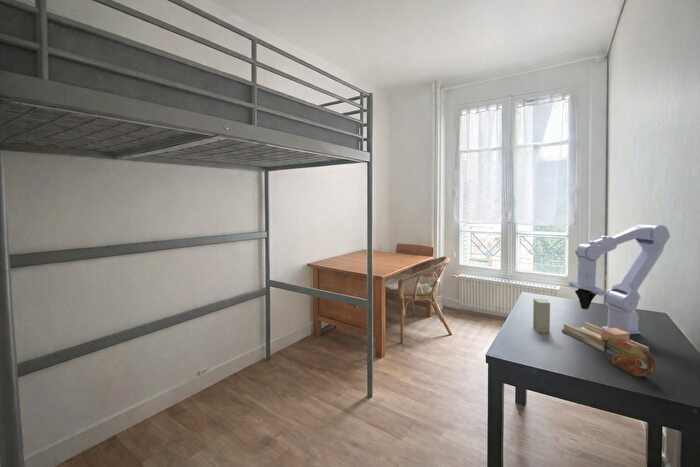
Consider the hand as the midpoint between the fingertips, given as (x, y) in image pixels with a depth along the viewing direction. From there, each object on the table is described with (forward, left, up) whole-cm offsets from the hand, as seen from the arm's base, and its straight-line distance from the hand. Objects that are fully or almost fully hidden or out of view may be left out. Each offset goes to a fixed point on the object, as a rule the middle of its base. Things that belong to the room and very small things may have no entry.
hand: (584, 308), depth 132 cm
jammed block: (+2, +15, -8) cm, 17 cm away
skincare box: (+15, -5, -10) cm, 18 cm away
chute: (+2, +10, -9) cm, 14 cm away
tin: (+12, +28, -10) cm, 32 cm away
